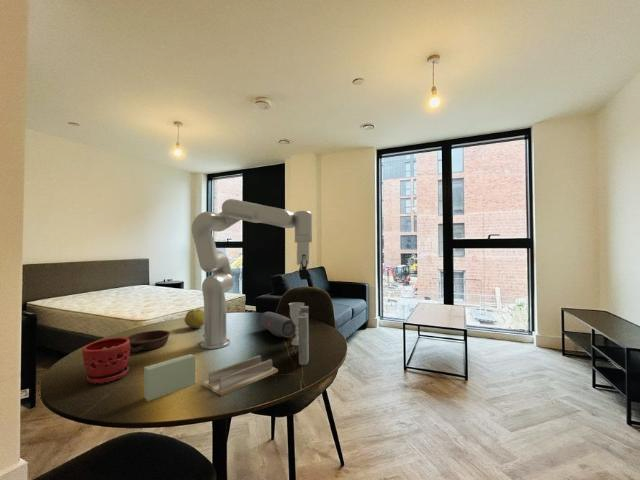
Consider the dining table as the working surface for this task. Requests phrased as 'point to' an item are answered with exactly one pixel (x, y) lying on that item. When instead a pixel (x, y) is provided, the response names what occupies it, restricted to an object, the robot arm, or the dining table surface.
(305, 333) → the hip flask
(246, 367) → the track
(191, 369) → the door panel
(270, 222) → the robot arm
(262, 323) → the bluetooth speaker
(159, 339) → the dish
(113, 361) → the plant pot
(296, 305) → the chalice
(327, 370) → the dining table surface
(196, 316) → the fruit
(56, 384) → the dining table surface
